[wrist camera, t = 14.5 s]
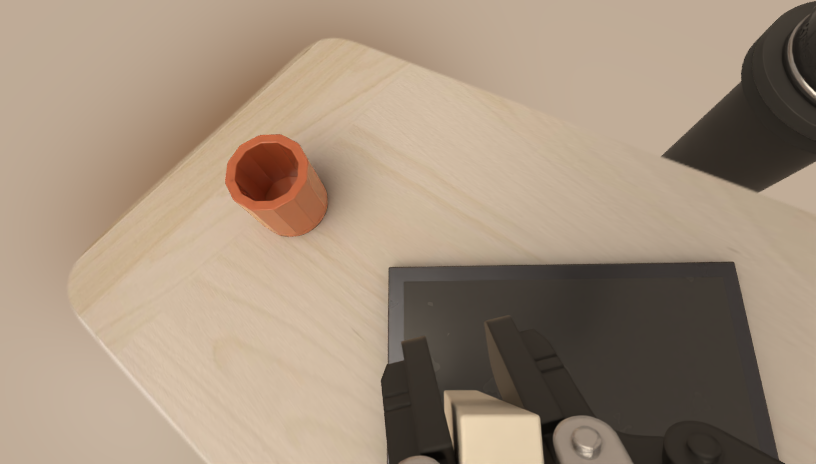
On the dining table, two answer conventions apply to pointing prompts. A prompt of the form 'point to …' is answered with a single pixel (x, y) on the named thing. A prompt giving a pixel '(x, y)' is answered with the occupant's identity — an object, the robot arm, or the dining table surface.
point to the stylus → (491, 430)
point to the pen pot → (277, 185)
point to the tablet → (599, 337)
